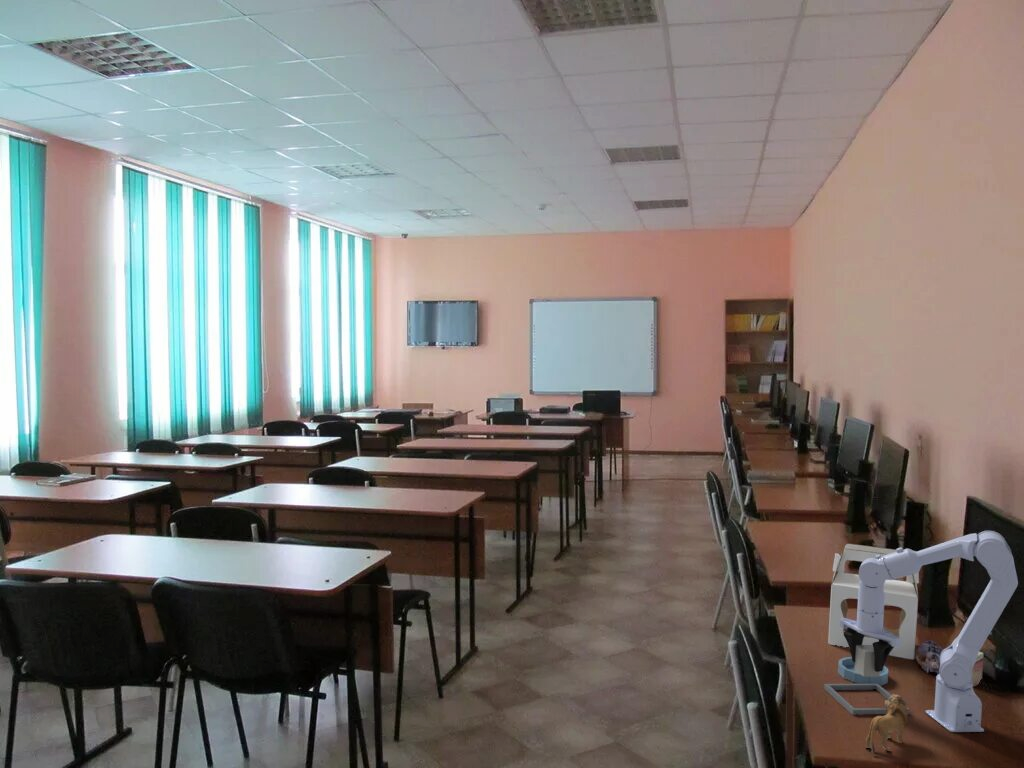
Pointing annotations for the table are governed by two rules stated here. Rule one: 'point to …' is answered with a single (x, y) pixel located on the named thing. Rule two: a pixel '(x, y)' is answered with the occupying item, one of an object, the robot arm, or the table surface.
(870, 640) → the gable box
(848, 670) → the bowl
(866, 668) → the stone block
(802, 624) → the table surface
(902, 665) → the table surface
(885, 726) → the lion figurine
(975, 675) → the small box
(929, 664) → the skull
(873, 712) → the tray
